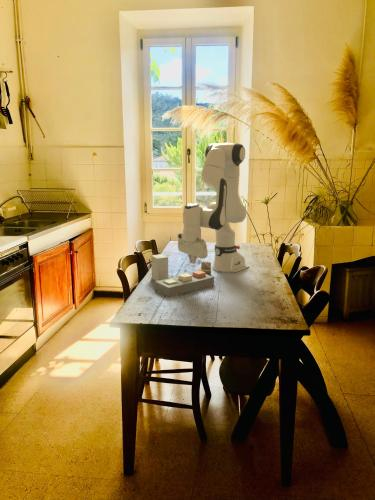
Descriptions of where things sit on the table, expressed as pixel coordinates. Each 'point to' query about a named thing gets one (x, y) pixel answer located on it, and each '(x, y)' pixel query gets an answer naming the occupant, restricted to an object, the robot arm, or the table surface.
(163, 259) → the small box
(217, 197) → the robot arm
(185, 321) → the table surface
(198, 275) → the rust button
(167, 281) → the sage button
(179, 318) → the table surface
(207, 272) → the architectural model
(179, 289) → the console
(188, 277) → the cream button
